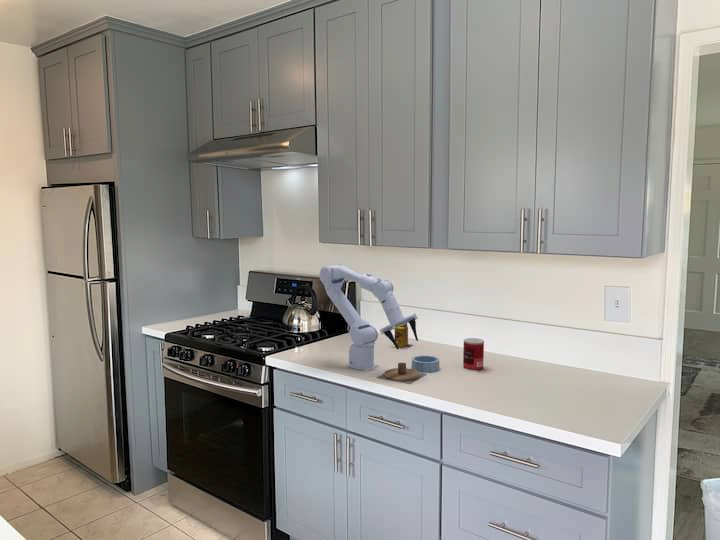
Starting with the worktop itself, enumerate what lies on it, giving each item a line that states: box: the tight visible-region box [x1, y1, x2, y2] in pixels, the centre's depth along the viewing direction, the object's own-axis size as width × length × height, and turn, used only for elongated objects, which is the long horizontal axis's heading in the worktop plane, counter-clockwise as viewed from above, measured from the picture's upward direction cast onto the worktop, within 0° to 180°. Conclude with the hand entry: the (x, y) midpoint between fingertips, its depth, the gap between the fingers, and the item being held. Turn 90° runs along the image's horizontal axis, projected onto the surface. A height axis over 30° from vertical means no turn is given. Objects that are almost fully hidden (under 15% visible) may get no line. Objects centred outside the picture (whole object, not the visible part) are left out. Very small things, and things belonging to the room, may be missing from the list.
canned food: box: [462, 337, 485, 371], centre depth 213 cm, size 8×8×11 cm
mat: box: [376, 372, 428, 385], centre depth 202 cm, size 14×14×1 cm
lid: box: [383, 362, 421, 382], centre depth 201 cm, size 13×13×5 cm
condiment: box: [394, 323, 414, 350], centre depth 246 cm, size 7×8×12 cm
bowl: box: [411, 354, 440, 373], centre depth 211 cm, size 10×10×4 cm
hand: (407, 344), depth 200 cm, fingers open, 7 cm apart
